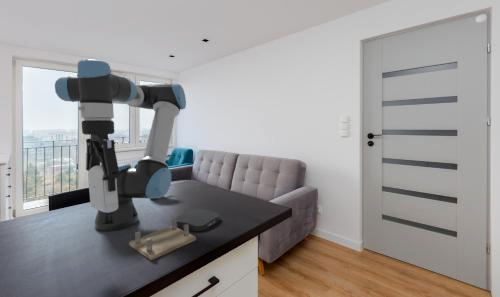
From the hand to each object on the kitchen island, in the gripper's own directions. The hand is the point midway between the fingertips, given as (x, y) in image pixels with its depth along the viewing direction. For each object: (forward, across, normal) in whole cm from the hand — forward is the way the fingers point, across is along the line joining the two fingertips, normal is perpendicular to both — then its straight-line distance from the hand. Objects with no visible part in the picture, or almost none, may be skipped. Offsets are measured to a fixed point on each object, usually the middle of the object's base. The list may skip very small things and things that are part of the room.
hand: (103, 198), depth 68 cm
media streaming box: (+19, -2, +34) cm, 39 cm away
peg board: (+18, +3, +16) cm, 24 cm away
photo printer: (+3, 0, 0) cm, 3 cm away
